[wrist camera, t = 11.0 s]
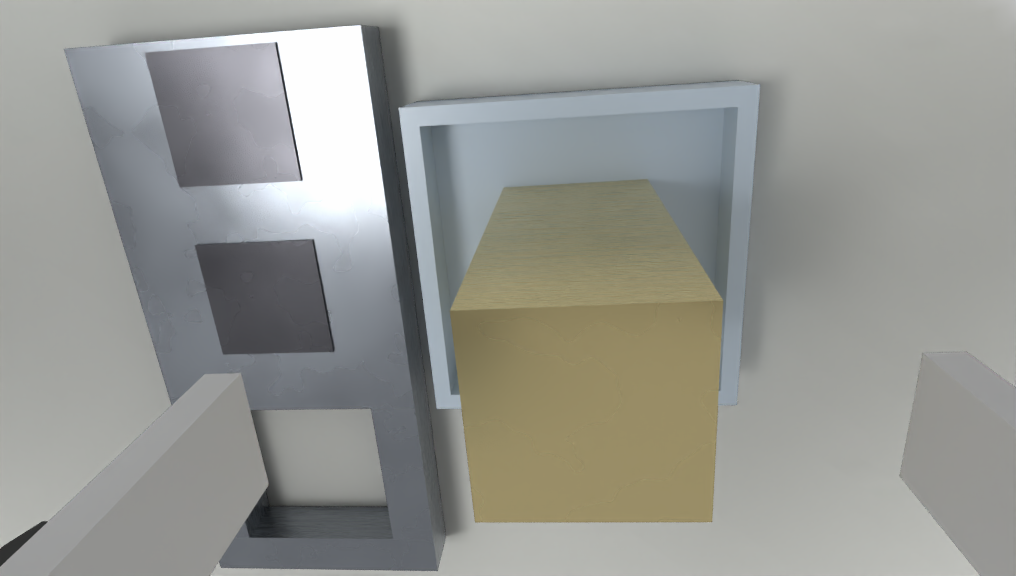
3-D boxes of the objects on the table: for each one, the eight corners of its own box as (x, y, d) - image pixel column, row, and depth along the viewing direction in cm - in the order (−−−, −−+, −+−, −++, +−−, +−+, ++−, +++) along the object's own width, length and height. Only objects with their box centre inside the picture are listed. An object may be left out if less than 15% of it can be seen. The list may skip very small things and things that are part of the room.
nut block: (514, 317, 24) (475, 522, 13) (503, 187, 22) (449, 310, 12) (647, 312, 23) (711, 522, 13) (647, 178, 21) (723, 300, 11)
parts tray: (448, 376, 26) (436, 409, 23) (416, 101, 22) (398, 108, 20) (720, 371, 25) (736, 404, 22) (738, 80, 21) (760, 84, 18)
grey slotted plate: (242, 535, 30) (220, 569, 28) (105, 48, 22) (61, 48, 20) (445, 537, 29) (437, 572, 27) (378, 27, 21) (359, 25, 19)
